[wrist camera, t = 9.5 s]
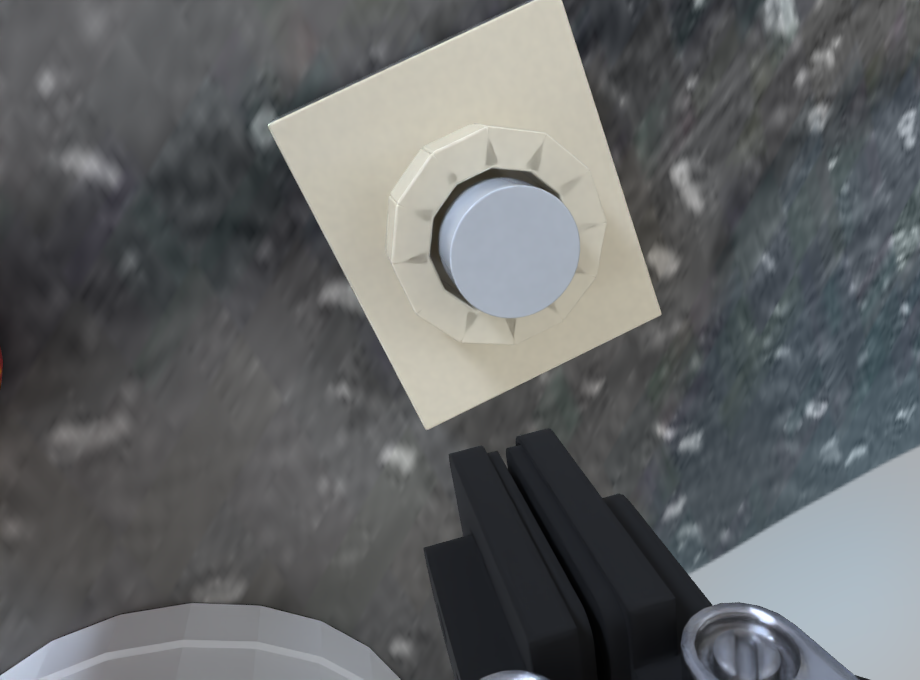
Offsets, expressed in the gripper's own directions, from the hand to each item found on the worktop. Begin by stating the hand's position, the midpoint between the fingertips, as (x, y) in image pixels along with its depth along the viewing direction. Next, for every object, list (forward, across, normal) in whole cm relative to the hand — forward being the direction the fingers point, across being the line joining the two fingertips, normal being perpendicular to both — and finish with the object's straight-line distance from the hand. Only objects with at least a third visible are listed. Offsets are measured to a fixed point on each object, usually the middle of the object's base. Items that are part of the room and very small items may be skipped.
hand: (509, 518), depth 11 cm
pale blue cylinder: (+12, -3, -1) cm, 13 cm away
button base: (+17, -4, -1) cm, 17 cm away
